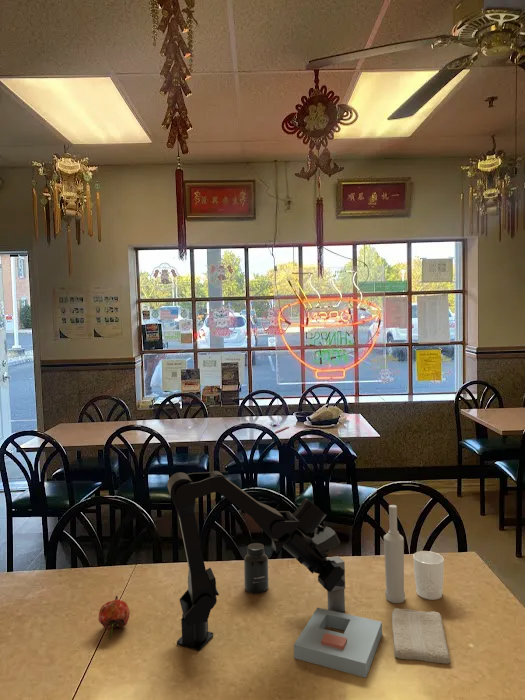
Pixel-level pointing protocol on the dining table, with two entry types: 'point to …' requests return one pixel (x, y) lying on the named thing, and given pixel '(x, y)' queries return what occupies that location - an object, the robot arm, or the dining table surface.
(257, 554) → the supplement bottle
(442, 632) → the washcloth
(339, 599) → the plug
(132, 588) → the dining table surface
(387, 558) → the bottle
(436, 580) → the white cup
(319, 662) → the socket plate
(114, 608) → the pomegranate
